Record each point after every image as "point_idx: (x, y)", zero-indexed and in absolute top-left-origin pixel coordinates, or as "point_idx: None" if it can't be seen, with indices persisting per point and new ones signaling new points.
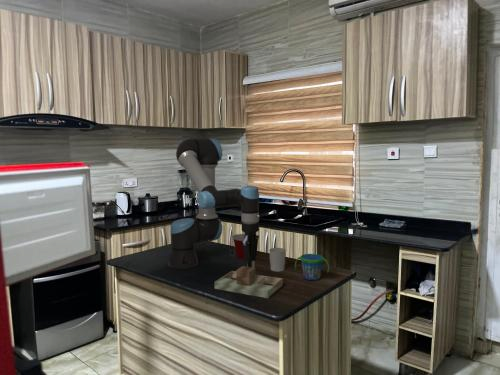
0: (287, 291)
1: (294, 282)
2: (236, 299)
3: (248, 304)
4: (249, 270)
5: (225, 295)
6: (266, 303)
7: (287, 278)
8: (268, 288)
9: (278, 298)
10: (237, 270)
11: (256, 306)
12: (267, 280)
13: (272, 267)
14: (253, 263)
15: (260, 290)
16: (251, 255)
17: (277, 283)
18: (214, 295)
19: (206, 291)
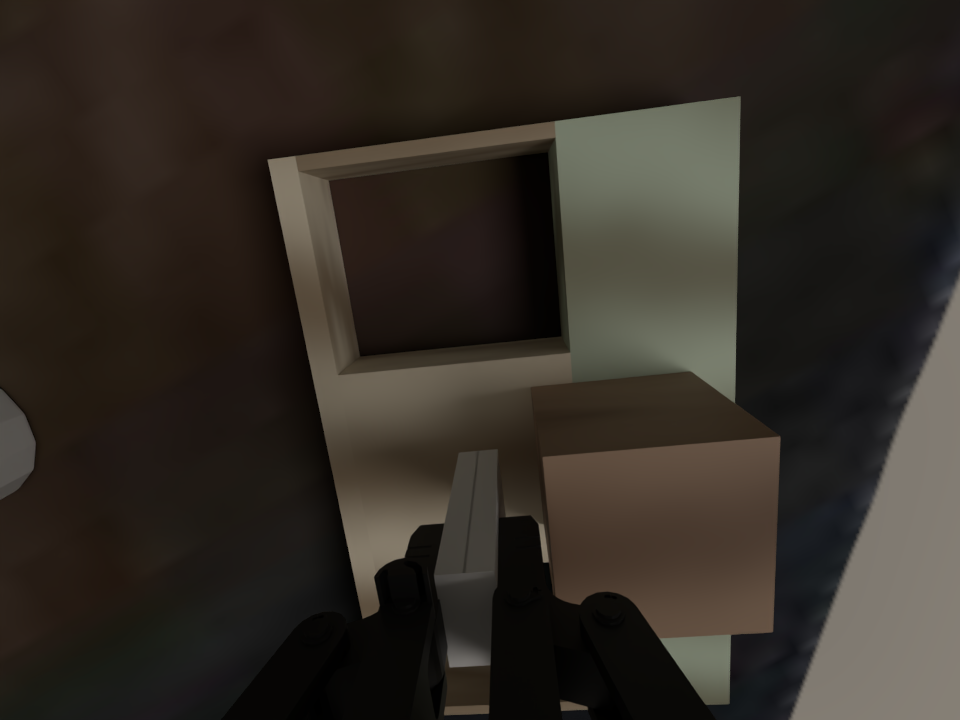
0: (428, 27)
1: (153, 93)
2: (853, 375)
3: (928, 213)
4: (702, 471)
5: (803, 502)
6: (837, 60)
7: (105, 223)
8: (659, 138)
9: (657, 13)
10: (771, 614)
11: (949, 114)
12: (344, 335)
13: (2, 472)
14: (474, 548)
15: (733, 205)
16: (555, 696)
17: (436, 139)
18: (840, 575)
19: (785, 666)
